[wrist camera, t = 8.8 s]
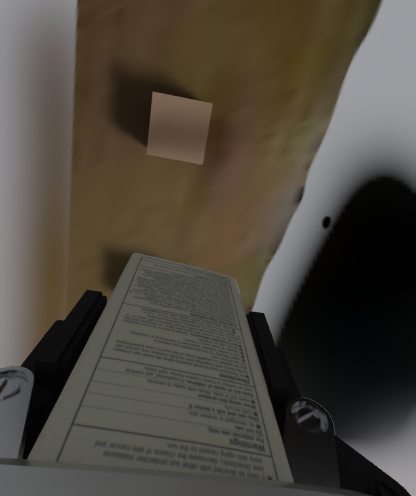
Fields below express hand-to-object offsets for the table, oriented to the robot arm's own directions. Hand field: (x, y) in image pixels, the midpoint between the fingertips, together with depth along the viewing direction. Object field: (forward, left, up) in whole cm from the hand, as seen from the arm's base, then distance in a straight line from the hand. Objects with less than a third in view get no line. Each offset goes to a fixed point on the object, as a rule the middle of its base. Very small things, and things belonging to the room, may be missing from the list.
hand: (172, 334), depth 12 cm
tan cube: (-8, -2, -22) cm, 24 cm away
